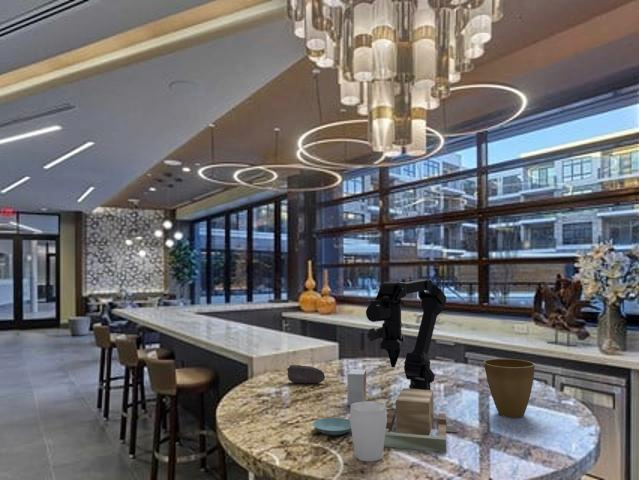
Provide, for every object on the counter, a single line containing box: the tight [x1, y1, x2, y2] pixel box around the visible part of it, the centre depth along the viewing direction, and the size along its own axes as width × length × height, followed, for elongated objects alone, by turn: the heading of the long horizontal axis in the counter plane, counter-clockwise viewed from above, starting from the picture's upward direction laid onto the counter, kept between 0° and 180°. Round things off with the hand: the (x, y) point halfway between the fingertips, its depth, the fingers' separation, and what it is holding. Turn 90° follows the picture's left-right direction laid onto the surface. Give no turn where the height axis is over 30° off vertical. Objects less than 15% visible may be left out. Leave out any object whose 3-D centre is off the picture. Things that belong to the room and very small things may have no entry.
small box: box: [347, 368, 367, 407], centre depth 163 cm, size 8×6×10 cm
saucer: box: [312, 417, 352, 436], centre depth 134 cm, size 12×12×2 cm
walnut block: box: [395, 387, 435, 436], centre depth 138 cm, size 14×9×9 cm, turn 162°
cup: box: [349, 400, 387, 463], centre depth 116 cm, size 9×9×12 cm
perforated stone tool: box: [286, 364, 326, 385], centre depth 191 cm, size 15×5×7 cm, turn 77°
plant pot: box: [483, 358, 536, 419], centre depth 149 cm, size 15×15×16 cm
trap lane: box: [384, 409, 458, 453], centre depth 133 cm, size 26×23×3 cm
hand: (393, 367), depth 158 cm, fingers closed
